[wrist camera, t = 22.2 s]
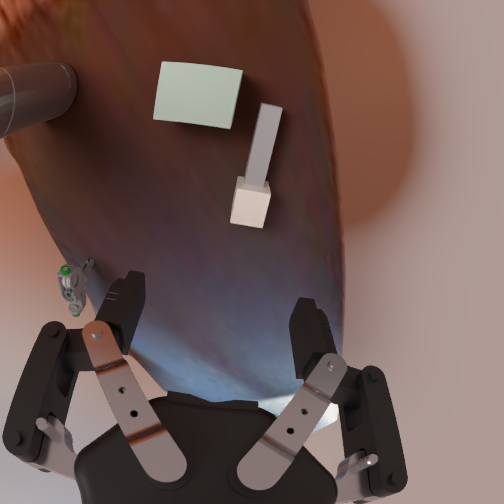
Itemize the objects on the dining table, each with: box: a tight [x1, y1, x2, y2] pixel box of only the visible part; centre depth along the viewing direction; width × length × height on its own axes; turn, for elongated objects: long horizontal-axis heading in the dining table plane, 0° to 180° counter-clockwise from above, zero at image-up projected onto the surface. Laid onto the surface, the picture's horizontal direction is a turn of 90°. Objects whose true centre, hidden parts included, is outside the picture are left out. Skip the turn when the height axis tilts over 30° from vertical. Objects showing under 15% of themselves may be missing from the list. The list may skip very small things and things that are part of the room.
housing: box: [153, 62, 243, 129], centre depth 30 cm, size 7×9×6 cm
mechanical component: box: [57, 259, 94, 317], centre depth 43 cm, size 3×10×10 cm, turn 167°
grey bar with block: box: [230, 102, 283, 228], centre depth 36 cm, size 17×4×5 cm, turn 168°
